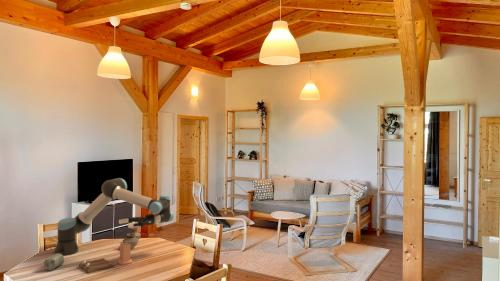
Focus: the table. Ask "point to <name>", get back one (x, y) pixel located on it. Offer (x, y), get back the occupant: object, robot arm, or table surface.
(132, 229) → the pottery
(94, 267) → the plate
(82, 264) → the dowels
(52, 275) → the table surface
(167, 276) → the table surface
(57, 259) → the spool
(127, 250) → the tall pillar on disc
